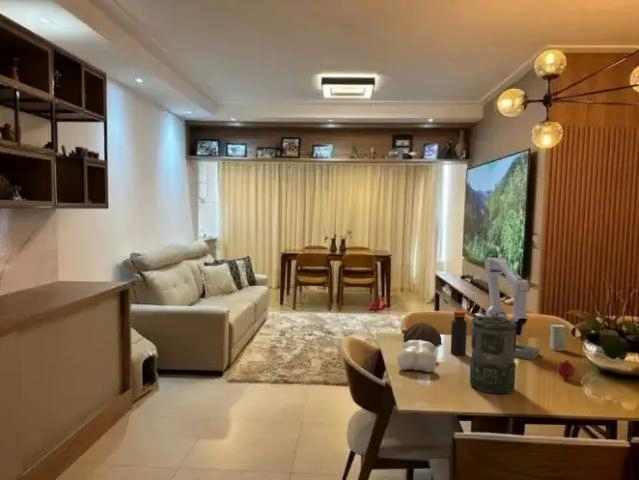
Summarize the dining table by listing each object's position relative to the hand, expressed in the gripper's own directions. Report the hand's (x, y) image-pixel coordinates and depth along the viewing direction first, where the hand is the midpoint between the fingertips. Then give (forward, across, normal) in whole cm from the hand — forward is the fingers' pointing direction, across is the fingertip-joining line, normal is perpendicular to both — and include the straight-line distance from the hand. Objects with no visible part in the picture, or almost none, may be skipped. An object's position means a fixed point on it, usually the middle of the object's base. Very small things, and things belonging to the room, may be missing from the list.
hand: (518, 334), depth 229 cm
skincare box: (+10, +22, -13) cm, 27 cm away
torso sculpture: (+10, -46, +30) cm, 56 cm away
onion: (+10, -26, -25) cm, 37 cm away
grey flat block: (+10, 0, 0) cm, 10 cm away
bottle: (+10, -19, +22) cm, 31 cm away
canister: (+10, -56, -5) cm, 57 cm away
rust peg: (+3, 0, 0) cm, 3 cm away
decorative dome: (+10, -8, +45) cm, 47 cm away
